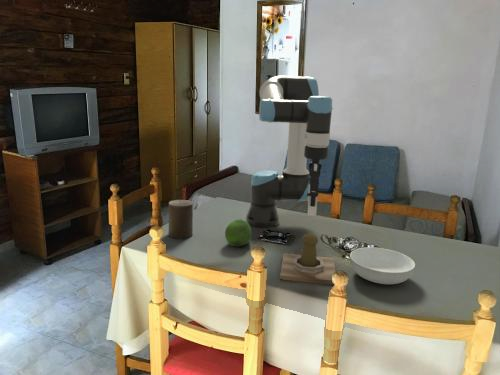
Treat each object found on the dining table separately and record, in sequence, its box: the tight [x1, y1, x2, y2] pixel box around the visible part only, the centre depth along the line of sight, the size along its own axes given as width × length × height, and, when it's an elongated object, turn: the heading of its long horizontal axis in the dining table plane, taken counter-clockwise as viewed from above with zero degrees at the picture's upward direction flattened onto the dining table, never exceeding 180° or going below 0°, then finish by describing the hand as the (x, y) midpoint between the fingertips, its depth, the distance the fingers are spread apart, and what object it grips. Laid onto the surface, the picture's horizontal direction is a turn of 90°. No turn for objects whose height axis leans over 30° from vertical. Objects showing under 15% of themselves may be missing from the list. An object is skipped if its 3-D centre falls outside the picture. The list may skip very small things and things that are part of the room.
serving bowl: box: [349, 246, 416, 285], centre depth 140 cm, size 21×21×7 cm
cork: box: [300, 233, 319, 267], centre depth 143 cm, size 6×6×11 cm
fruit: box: [224, 219, 253, 248], centre depth 164 cm, size 15×10×10 cm, turn 161°
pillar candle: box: [168, 199, 194, 240], centre depth 170 cm, size 10×10×15 cm
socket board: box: [279, 252, 336, 286], centre depth 144 cm, size 18×18×3 cm
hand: (311, 209), depth 139 cm, fingers open, 13 cm apart
